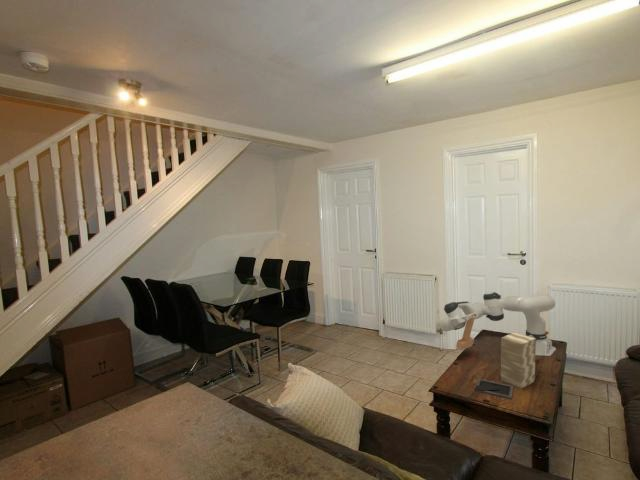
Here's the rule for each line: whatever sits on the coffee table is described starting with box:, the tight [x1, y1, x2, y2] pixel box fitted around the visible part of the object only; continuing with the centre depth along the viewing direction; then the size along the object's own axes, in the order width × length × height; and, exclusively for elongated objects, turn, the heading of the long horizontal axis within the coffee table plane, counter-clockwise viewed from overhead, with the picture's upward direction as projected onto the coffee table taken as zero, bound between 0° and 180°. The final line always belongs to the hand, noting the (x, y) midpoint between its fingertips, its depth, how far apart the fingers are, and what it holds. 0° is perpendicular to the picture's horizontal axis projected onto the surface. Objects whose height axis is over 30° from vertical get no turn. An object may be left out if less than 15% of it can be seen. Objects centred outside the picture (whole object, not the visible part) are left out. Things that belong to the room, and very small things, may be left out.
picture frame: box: [474, 378, 514, 400], centre depth 195 cm, size 13×2×18 cm
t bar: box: [455, 315, 476, 351], centre depth 229 cm, size 12×23×4 cm
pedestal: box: [500, 331, 536, 390], centre depth 201 cm, size 14×12×26 cm
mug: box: [535, 357, 540, 379], centre depth 209 cm, size 12×8×9 cm, turn 117°
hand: (474, 315), depth 223 cm, fingers closed on t bar, 3 cm apart
